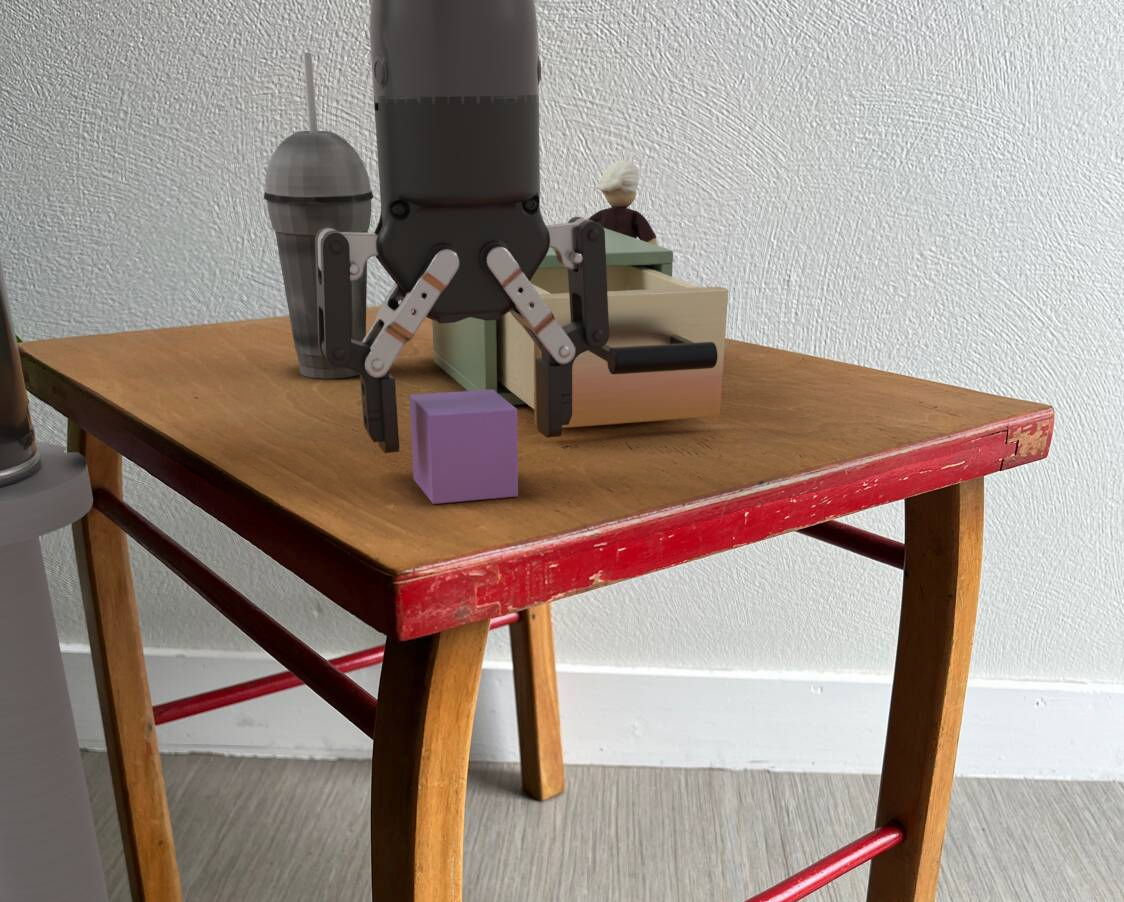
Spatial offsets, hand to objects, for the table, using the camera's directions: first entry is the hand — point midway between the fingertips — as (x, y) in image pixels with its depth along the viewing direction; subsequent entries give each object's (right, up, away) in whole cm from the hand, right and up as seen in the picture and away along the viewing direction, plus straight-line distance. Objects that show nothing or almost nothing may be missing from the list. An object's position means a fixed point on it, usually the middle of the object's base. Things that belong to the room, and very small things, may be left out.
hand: (469, 441), depth 66 cm
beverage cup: (-12, +11, +26) cm, 30 cm away
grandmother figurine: (+9, +20, +43) cm, 48 cm away
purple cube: (0, -2, +1) cm, 2 cm away
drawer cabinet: (+3, +10, +25) cm, 27 cm away
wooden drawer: (+8, +5, +13) cm, 16 cm away
